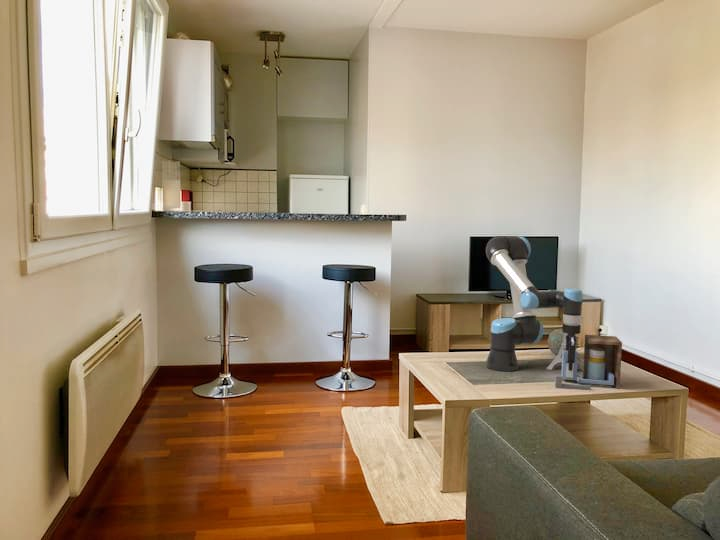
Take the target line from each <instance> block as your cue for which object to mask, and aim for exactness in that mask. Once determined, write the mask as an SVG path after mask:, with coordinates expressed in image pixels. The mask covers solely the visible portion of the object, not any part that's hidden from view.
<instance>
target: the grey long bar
mask: <svg viewBox="0 0 720 540" xmlns="http://www.w3.org/2000/svg"><path fill="white" fill-rule="evenodd" d="M554 381H555V384H554V386H555V389H569V390H582V391H591V385H588V384H585V385H584V384H575V383H574V384H573V383H563V379H562V375H561V374H560V375H559V374H555V380H554Z"/></svg>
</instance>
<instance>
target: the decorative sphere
mask: <svg viewBox="0 0 720 540" xmlns="http://www.w3.org/2000/svg"><path fill="white" fill-rule="evenodd" d="M562 328H563V327H560V328H556V329H554V330H552V331H551V332H550V334H549V335H548V337H547V340H546V341H547V348H548V350H550V352H551V353H552V354H553V355H555V356H557V355H558V353H559V351H560V349H561V346H562V345H561V344H562V343H563V338H564V332H563V331H562ZM576 335H577V334H575V338H576V346H575V351H577V348H578V346H579V344H578V343H579V342H578V341H579V340H578V338H577V336H576Z"/></svg>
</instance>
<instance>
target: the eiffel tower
mask: <svg viewBox="0 0 720 540" xmlns="http://www.w3.org/2000/svg"><path fill="white" fill-rule="evenodd" d="M567 334H568V333H564V338H563V343H562V344H561V345H562V346H561V349H560V351H559V353H558V355H557V356H556V355H555V356H554V359H553V360H552V361H551V363H550V364H549V365H548V366H547V367H546V369H545V370H550V371H551V370H554V369H555V366H561V367H562V353H563V350H566V335H567ZM577 370H581V371H583V364H582V363H581V362H580V361H579V359H578V363H577Z"/></svg>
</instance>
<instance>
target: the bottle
mask: <svg viewBox="0 0 720 540" xmlns="http://www.w3.org/2000/svg"><path fill="white" fill-rule="evenodd" d="M604 355H605V350H604V349H599V348H591V349H590V356H589V359H588V374H587V379H590V380H604V377H605V358H604V357H605V356H604ZM593 385H594V386H601V385H603V384H593Z"/></svg>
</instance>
